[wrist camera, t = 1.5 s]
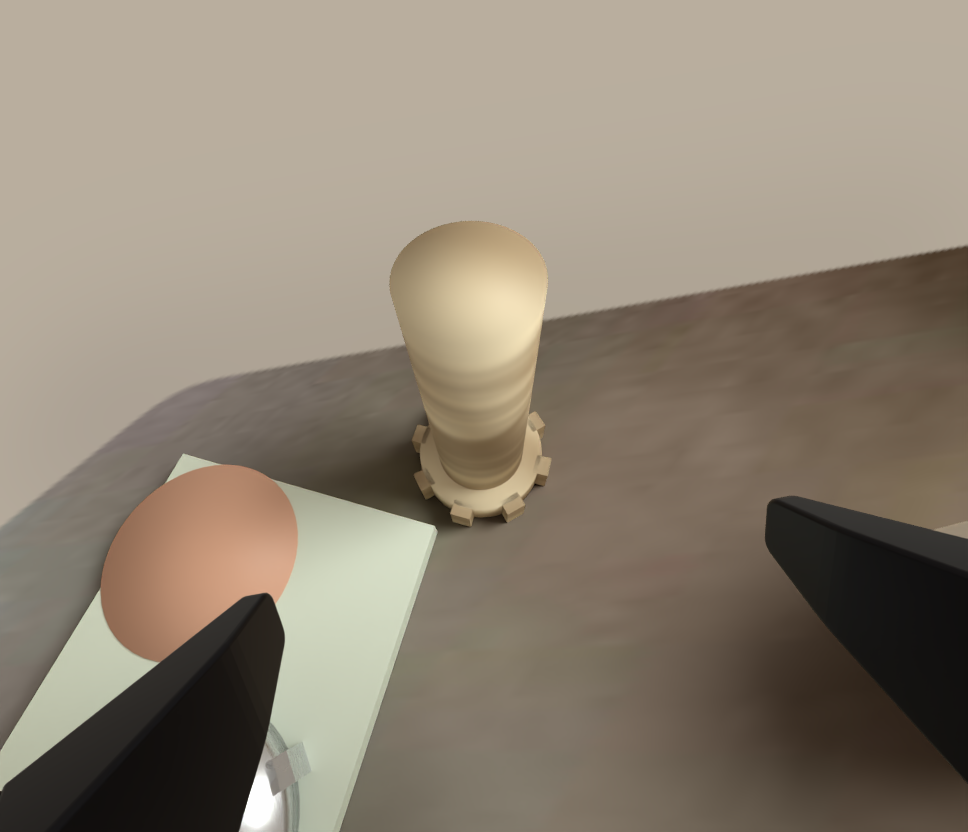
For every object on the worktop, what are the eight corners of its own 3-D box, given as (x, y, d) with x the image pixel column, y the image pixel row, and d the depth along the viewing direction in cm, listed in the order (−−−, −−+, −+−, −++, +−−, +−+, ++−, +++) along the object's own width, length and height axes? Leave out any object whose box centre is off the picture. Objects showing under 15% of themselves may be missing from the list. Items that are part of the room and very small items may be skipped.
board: (266, 1053, 14) (246, 1088, 13) (-76, 887, 16) (-119, 905, 15) (439, 527, 22) (435, 521, 21) (187, 455, 24) (172, 445, 23)
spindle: (530, 543, 21) (574, 424, 10) (396, 505, 22) (288, 354, 11) (560, 419, 24) (621, 210, 13) (439, 390, 25) (392, 170, 13)
